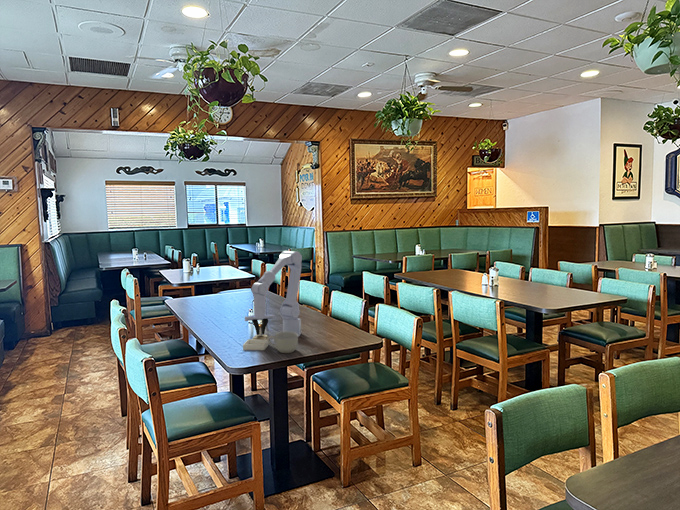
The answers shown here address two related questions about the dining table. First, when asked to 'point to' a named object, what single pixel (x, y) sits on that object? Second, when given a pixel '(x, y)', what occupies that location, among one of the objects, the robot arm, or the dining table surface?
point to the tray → (255, 344)
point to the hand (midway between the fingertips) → (260, 334)
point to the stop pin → (260, 330)
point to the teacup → (284, 341)
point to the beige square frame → (260, 337)
